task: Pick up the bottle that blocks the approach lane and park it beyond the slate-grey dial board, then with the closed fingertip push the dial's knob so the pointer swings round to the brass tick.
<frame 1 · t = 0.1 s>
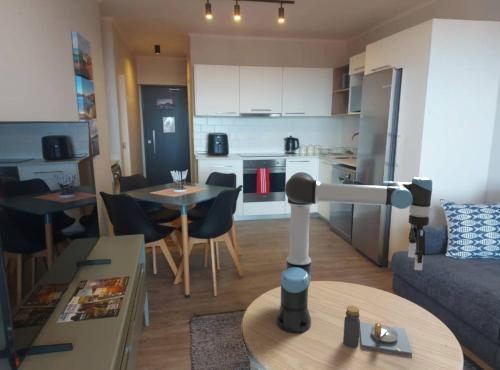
hand: (414, 263, 142), 28 cm above the table, fingers open, 13 cm apart
bottle: (350, 343, 133), on the table
dial: (385, 328, 133), point 6 cm above the table, hinge at 0.0°
board: (383, 339, 135), on the table
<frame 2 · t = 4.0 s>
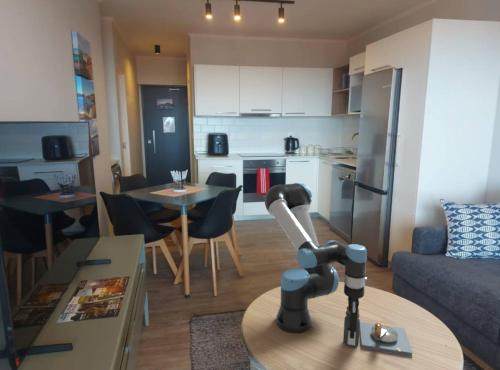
hand: (351, 339, 132), 2 cm above the table, fingers closed on bottle, 6 cm apart
bottle: (350, 343, 133), on the table, touching gripper
everything else where it was.
when the fingers open (3 cm above the table, at t = 10.2 s): bottle drops 1 cm, on the table.
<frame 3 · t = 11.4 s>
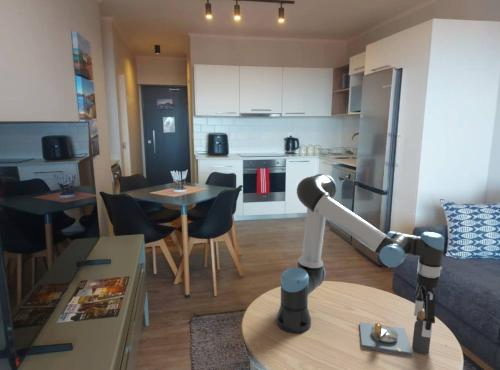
hand: (421, 325, 127), 10 cm above the table, fingers open, 13 cm apart
bottle: (420, 350, 129), on the table
everything else where it was.
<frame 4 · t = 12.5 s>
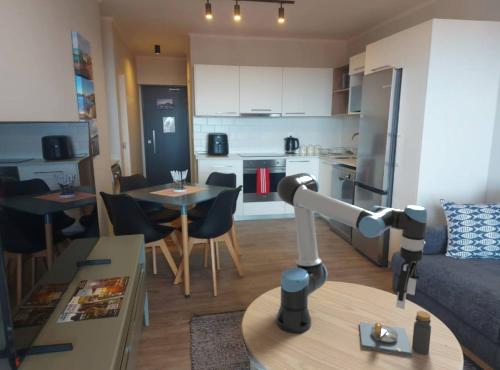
hand: (405, 300, 127), 20 cm above the table, fingers open, 13 cm apart
nothing on the table moved.
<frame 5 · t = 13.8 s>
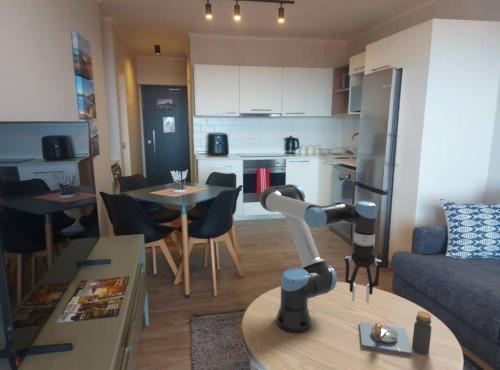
hand: (360, 300, 129), 19 cm above the table, fingers open, 4 cm apart
nothing on the table moved.
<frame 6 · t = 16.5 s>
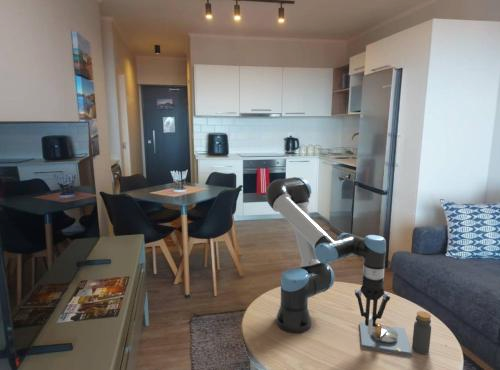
hand: (369, 333, 130), 6 cm above the table, fingers closed
dial: (385, 328, 133), point 6 cm above the table, hinge at 0.1°, touching gripper
everything else where it was.
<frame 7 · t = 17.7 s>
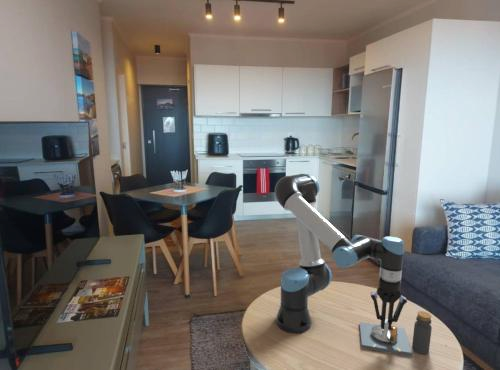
hand: (385, 336, 128), 6 cm above the table, fingers closed
dial: (386, 328, 133), point 6 cm above the table, hinge at 51.0°, touching gripper
everything else where it was.
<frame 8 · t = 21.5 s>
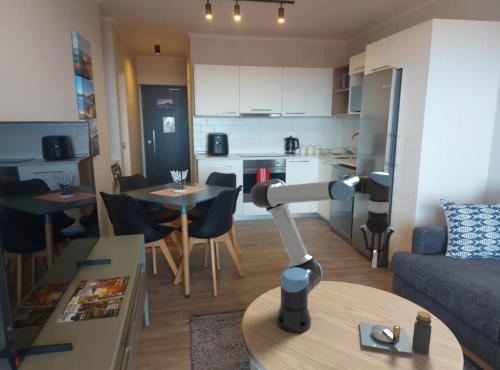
hand: (374, 266, 137), 28 cm above the table, fingers closed
dial: (387, 327, 133), point 6 cm above the table, hinge at 61.8°
everything else where it was.
at the end: dial at +62° (first picture: +0°); bottle inside the target area (0.1 cm from its centre), on the table; bottle tilted 0° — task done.
